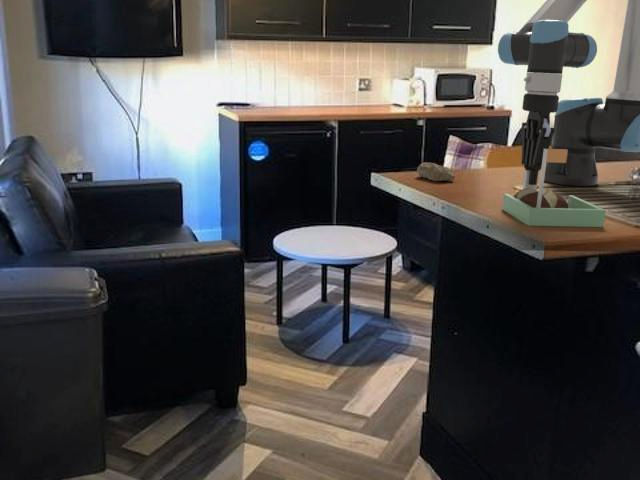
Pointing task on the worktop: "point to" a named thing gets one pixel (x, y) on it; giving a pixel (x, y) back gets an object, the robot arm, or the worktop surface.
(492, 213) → the worktop surface
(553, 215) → the mint green tray
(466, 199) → the worktop surface
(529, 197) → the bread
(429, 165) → the rock
